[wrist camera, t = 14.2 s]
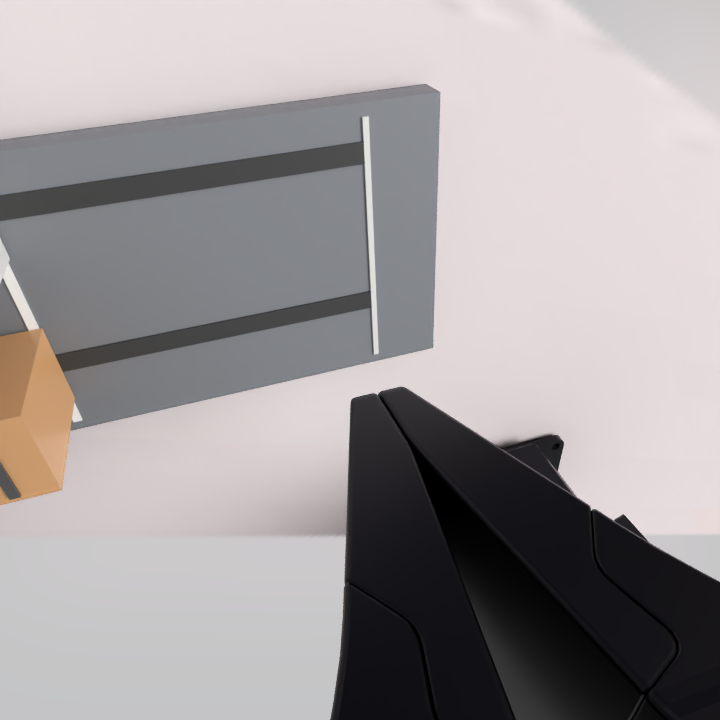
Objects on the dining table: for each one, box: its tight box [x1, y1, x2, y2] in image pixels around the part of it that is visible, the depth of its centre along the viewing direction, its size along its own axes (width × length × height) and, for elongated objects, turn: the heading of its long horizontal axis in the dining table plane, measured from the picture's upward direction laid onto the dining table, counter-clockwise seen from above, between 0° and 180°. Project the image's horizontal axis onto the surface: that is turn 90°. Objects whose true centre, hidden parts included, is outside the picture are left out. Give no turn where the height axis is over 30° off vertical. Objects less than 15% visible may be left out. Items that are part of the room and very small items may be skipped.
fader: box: [0, 328, 75, 505], centre depth 18 cm, size 3×2×4 cm
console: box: [0, 84, 440, 431], centre depth 20 cm, size 10×20×1 cm, turn 93°
